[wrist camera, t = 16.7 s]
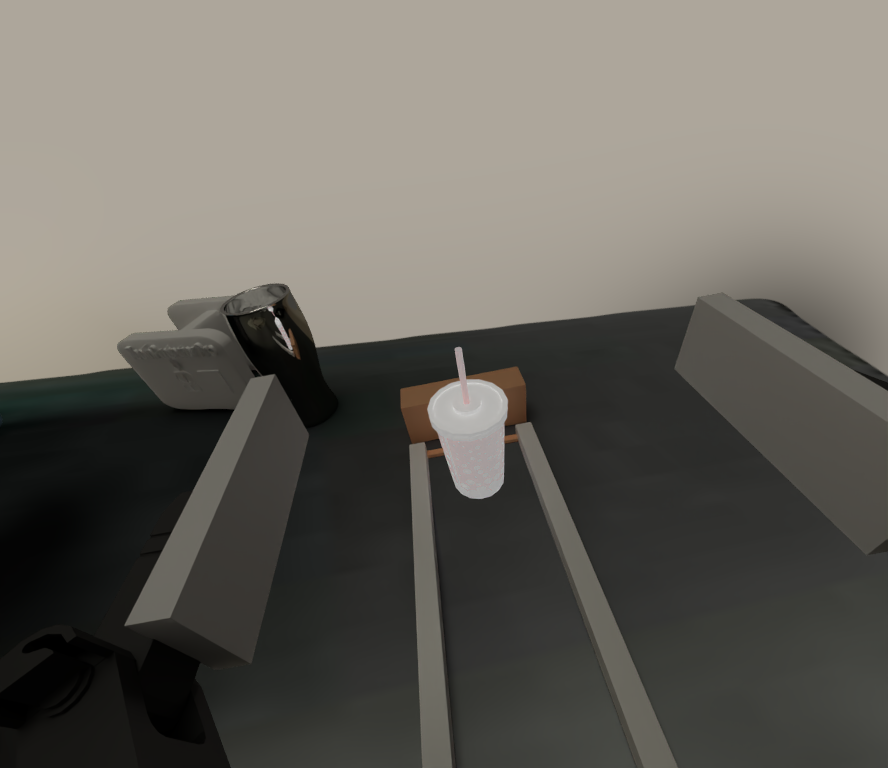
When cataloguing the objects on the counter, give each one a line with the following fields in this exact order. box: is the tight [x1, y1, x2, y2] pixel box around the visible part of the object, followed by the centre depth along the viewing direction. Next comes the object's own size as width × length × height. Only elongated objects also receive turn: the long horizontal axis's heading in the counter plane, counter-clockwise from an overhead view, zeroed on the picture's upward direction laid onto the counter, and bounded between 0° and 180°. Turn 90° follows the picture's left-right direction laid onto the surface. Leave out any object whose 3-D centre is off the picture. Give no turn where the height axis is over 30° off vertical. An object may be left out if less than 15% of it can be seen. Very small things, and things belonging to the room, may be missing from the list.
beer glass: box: [220, 284, 338, 427], centre depth 39 cm, size 7×7×15 cm
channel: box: [401, 367, 678, 768], centre depth 26 cm, size 30×12×5 cm, turn 6°
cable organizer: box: [117, 296, 255, 409], centre depth 47 cm, size 15×11×12 cm
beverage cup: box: [427, 347, 508, 499], centre depth 28 cm, size 6×6×14 cm
